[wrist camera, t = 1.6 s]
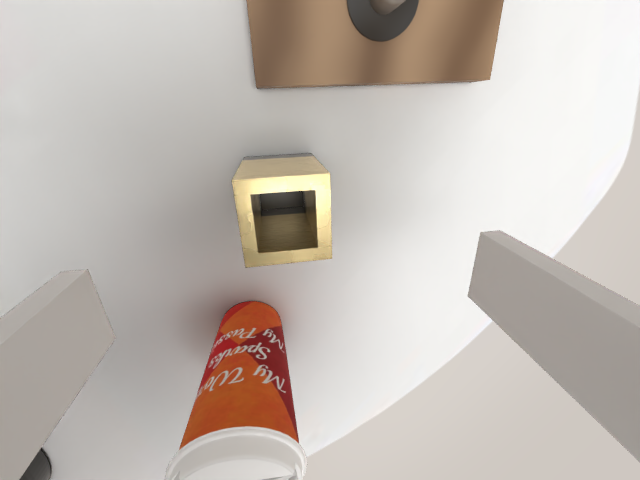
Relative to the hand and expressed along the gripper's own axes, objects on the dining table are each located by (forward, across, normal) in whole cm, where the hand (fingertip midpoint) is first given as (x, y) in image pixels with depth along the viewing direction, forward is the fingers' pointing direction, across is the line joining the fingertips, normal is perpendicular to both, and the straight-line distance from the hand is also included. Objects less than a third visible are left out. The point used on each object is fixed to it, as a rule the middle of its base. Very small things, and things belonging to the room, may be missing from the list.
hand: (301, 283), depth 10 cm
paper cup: (+14, -4, -13) cm, 20 cm away
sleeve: (+14, 0, 0) cm, 14 cm away
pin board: (+14, +7, +16) cm, 23 cm away
